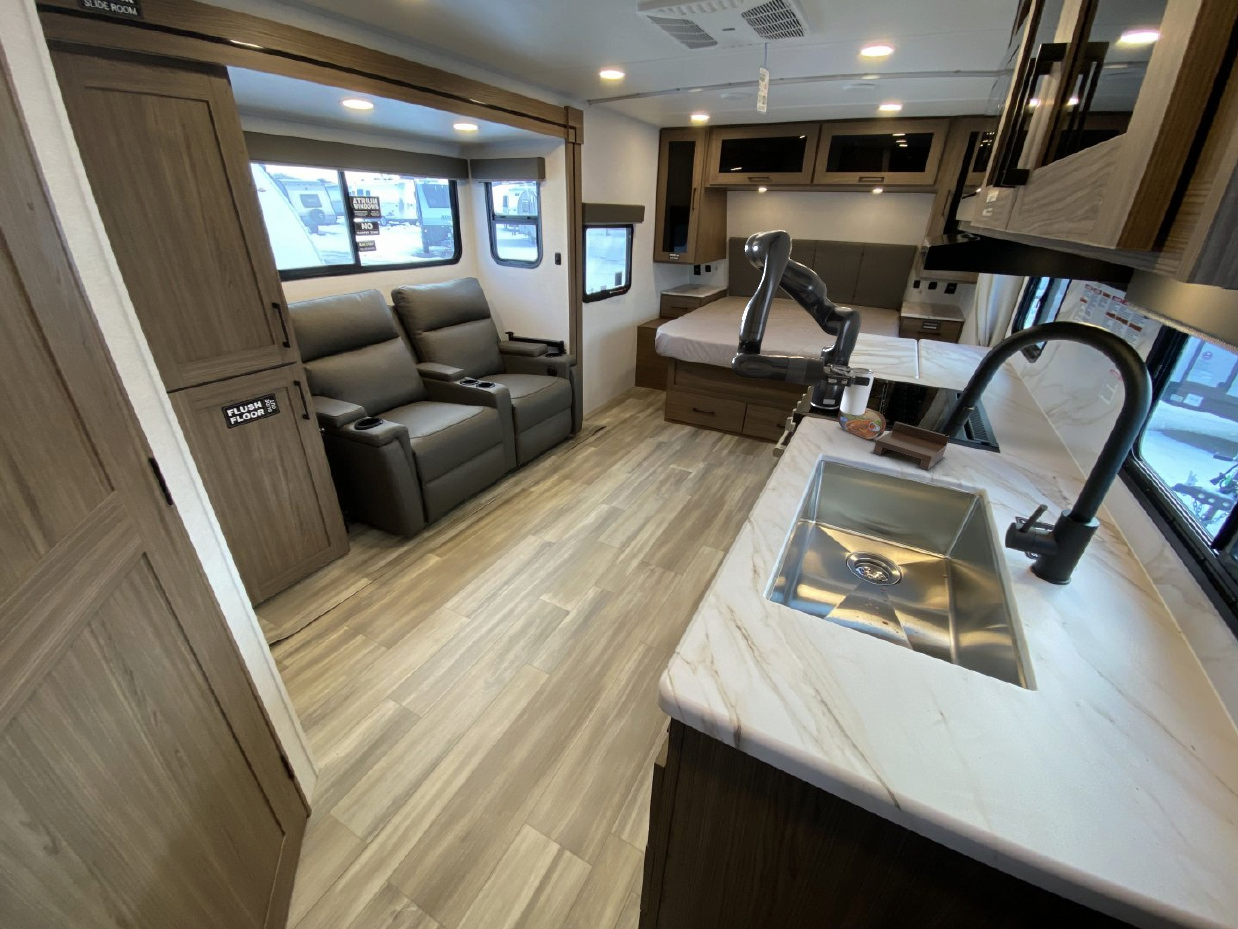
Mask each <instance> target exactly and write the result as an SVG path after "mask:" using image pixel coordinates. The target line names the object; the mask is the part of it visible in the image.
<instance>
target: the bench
mask: <svg viewBox="0 0 1238 929" xmlns="http://www.w3.org/2000/svg"><path fill="white" fill-rule="evenodd" d="M945 435H946V434H944V433H939V432H936V431H934V430H933V431H932V430H929V429H925V428H921V427H918V426H914V425H910V424H906V423H903V422H899V421H894V423H893V426H892V430H891V431H889V432H887V433H886V434H884V435H881V436H880V437H878V438H877V439H876V441H875V445H874V447H873V451H872V454H875V455H877V456H882V455H883V454H885V453H886V452H888V451H889V450H890V451H893V452H897V453H900V454H903V455H907V456H909V457H913V458H917V459H920V460H921V461H920V464H919V467H918V468H919V469H921V470H925V471H929V470H930V469H931V468H932V467H934V465H936V464H937V463H938V462H939V461H941V460H942V459H943V457H944V454H945V452H946V449H947V446H948V443H949V440H950V437H951V436H950V435H948V436H945Z"/></svg>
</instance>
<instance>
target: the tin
mask: <svg viewBox="0 0 1238 929" xmlns="http://www.w3.org/2000/svg"><path fill="white" fill-rule="evenodd" d="M837 423H838V425H839V427H840V428H841V429H842V430H843V431H845V432H848V433H850V434H853V435H856V436H858V437H860V438H863V439H865V440H873V439H876V438H877V439H878V438H880V437H882V436H883V434H884V433H885V431H886V427H887V422H886V418H885V416H884V415H883V414H882V413H881V412H880V411H877V410H874V409H871V408H868V407H866V409H865V412H864V414H862V415H858V416H855V415H849V414H845V413H843V412H842V411H841V410H840V409H839V411H838V413H837Z"/></svg>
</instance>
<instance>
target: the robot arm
mask: <svg viewBox="0 0 1238 929" xmlns="http://www.w3.org/2000/svg"><path fill="white" fill-rule="evenodd" d="M792 246H793V242H792V238H791V235H790V233H788V232H787V231H785V230H781V229H778V230H777V229H776V230H762V231H759V232H758V231H757V232H755V233H753V234H752V235H750V236H749V237H748V239H747V241H746V243H745V248H744V250H745V256H746V259H747V260H748V262H749V263H750V265H752V266H753V267H754V268H755V269H756V270H758V271H760V272H761V273H763V275H762V279H761V281H760V283H759V285H758V288H757V289H756V291H755V292H754V294H753V295H752V297H751V298H750V299H749V302H748V303H747V305H746V307H745V308H744V311H743V313H742V318H741V323H740V327H739V332H738V345H737V350H736V353H735V356H734V357H733V359H732V362H731V369H732V372H733V373H734V374H735V375H736V376H737V377H740V378H746V379H765V380H771V381H776V382H777V381H778V382H783V383H785V382H786V383H789V384H794V385H802V386H809V387H813V391H812V395H811V400H810V406H811V407H813V408H815V409H818V410H824V411H836V410H838V409H840V405H841V401H842V398H843V394H844V388H845V387H851V385H861V386H868V385H869V382H870V378H869V377H860V376H854V375H849V373H850V371H851V369H852V368H853V367H851V366H849V365H850V359H851V356H852V354H853V352H854V351H855V348H856V344H857V341H858V337H859V334H860V331H861V327H862V323H863V322H862V320H863V317H862V313H861V312H860V310H858V309H855V308H850V307H844V306H839V305H837V304H835V303H834V302H832V301H831V300H830V299H829V298H828V297H827V295H828V289H827V286H826V283H825V282H824V281H823V279H822V278H821V277H819V275H818V274H817V273H816V272H815V271H813V270H812V269H811V268H809V267H807V266H805V265H804V264H801V263H799V262H797V261H795V260H792V259H790V257H791V253H792V248H793V247H792ZM779 288H780V289H781V290H782V291H784V293H786V294H787V295H788V296H789V297H790V298H791V300H793V301H794V302H795V303H796V305H798V306H800V307H801V308H802V309H803V310H804V311H805V312H806V313H807V314H809V316H811V317H812V319H813V320H814V321H815V323H816V324H817V325H818V326H819V327H820V328H821V330H822V332H824V333H825V334H827V335H829V336H833V337H836V339H835V342H834V344H832V345H827V346H824V347H823V348H822V349H821V352H820V356H819V358H813V357H803V356H786V355H767V354H761V351H762V343H763V340H764V337H765V333H766V328H767V324H768V320H769V315H770V312H771V308H772V305H773V302H774V299H775V297H776V294H777V291H778V289H779Z"/></svg>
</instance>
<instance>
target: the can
mask: <svg viewBox="0 0 1238 929" xmlns="http://www.w3.org/2000/svg"><path fill="white" fill-rule="evenodd" d="M851 368H852V369H851V371H850V373H849V375H854V376H860V377H869V378H870V382H869V385H868V386H861V385H851V387H845V386H844V388H843V392H844V394H843V393H842V397H843V398H842V397H841V398H842V399H841V401H840V405H839V411H840V410H841V411H842V412H843V413H845V414H849V415H855V416H858V415H862V414H864V412H865V409H866V408H867V406H868V405H867V404H868V401H869V398H870V393H871V390H872V388H873V387H872V386H873V383H874V371H873V370H872V369H869V368H865V367H851Z"/></svg>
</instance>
